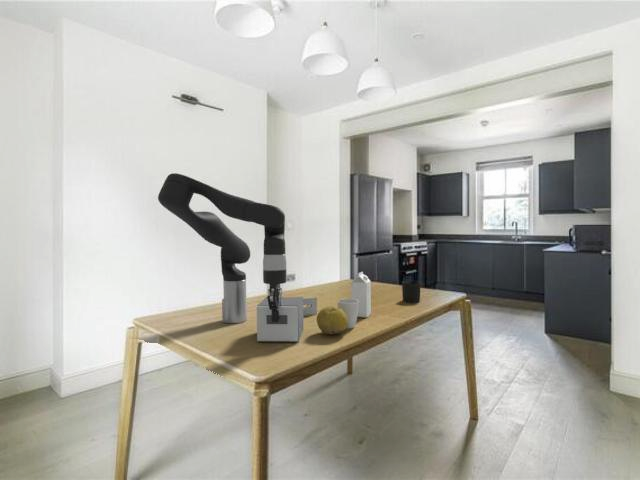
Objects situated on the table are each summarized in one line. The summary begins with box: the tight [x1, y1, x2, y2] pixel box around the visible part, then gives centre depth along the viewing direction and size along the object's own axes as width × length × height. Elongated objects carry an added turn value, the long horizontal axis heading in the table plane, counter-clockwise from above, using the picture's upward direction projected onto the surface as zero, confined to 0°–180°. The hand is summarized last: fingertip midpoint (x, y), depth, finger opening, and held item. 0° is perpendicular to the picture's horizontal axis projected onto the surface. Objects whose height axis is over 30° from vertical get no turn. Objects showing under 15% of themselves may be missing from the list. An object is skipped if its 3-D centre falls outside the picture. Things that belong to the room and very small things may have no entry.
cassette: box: [303, 296, 318, 317], centre depth 157 cm, size 12×2×8 cm, turn 113°
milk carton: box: [350, 271, 372, 318], centre depth 155 cm, size 7×7×19 cm
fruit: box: [316, 305, 348, 335], centre depth 128 cm, size 11×12×10 cm
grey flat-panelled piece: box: [256, 306, 298, 342], centre depth 125 cm, size 14×15×11 cm
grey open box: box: [256, 296, 304, 343], centre depth 127 cm, size 14×15×12 cm
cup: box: [337, 298, 358, 329], centre depth 137 cm, size 8×8×10 cm
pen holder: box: [401, 280, 421, 303], centre depth 185 cm, size 9×9×10 cm
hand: (275, 321), depth 115 cm, fingers closed
